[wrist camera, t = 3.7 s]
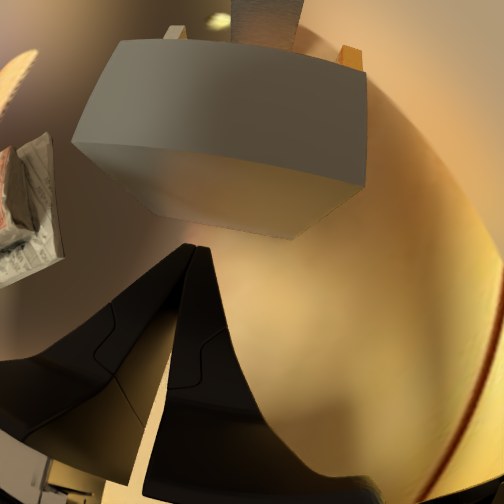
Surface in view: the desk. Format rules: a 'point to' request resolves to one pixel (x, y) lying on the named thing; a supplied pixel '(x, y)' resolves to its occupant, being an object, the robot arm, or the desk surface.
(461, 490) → the robot arm
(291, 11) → the rack bay
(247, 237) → the desk surface
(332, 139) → the grey rectangular block
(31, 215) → the packaged product
